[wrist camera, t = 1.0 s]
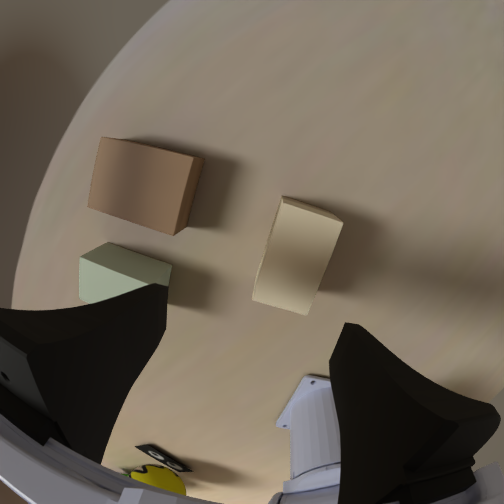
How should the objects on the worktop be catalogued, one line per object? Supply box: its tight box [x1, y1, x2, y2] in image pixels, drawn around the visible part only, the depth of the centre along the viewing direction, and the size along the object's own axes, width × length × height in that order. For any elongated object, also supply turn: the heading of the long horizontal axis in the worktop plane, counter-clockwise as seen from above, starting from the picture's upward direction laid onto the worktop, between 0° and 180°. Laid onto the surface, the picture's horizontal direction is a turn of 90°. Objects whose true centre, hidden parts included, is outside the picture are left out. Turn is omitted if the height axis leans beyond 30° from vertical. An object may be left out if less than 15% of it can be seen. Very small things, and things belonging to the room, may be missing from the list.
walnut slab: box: [87, 137, 205, 236], centre depth 18 cm, size 7×5×3 cm
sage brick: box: [79, 242, 172, 304], centre depth 19 cm, size 6×4×4 cm, turn 73°
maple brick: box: [252, 196, 343, 315], centre depth 17 cm, size 6×4×4 cm, turn 164°
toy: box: [122, 445, 194, 496], centre depth 30 cm, size 9×10×30 cm
